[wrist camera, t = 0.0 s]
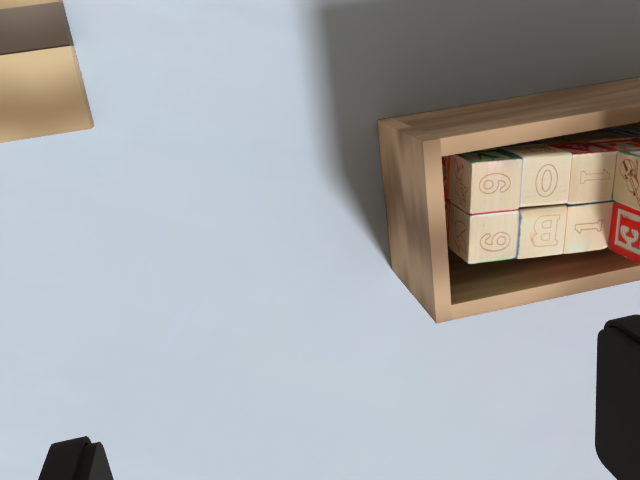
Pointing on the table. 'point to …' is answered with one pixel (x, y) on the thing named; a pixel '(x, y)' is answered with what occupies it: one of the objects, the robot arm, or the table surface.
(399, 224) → the block caddy
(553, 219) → the stack of blocks
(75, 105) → the board
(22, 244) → the table surface
